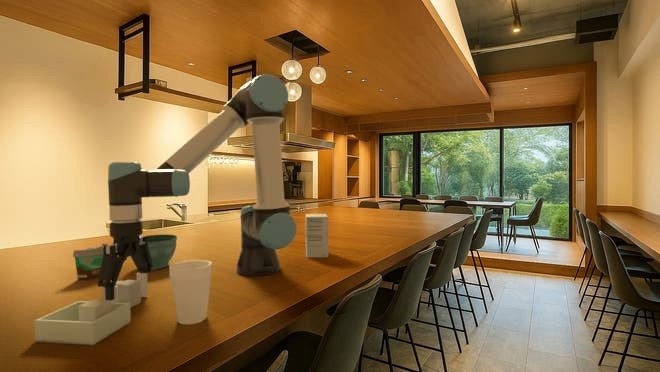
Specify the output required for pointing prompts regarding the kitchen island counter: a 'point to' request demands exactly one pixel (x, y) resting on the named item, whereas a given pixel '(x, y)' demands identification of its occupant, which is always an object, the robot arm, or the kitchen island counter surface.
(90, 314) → the stone
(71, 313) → the bin
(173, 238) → the flower pot
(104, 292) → the stone
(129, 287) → the stone
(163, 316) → the kitchen island counter surface
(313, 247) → the supplement box
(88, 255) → the food container
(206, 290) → the foam cup
